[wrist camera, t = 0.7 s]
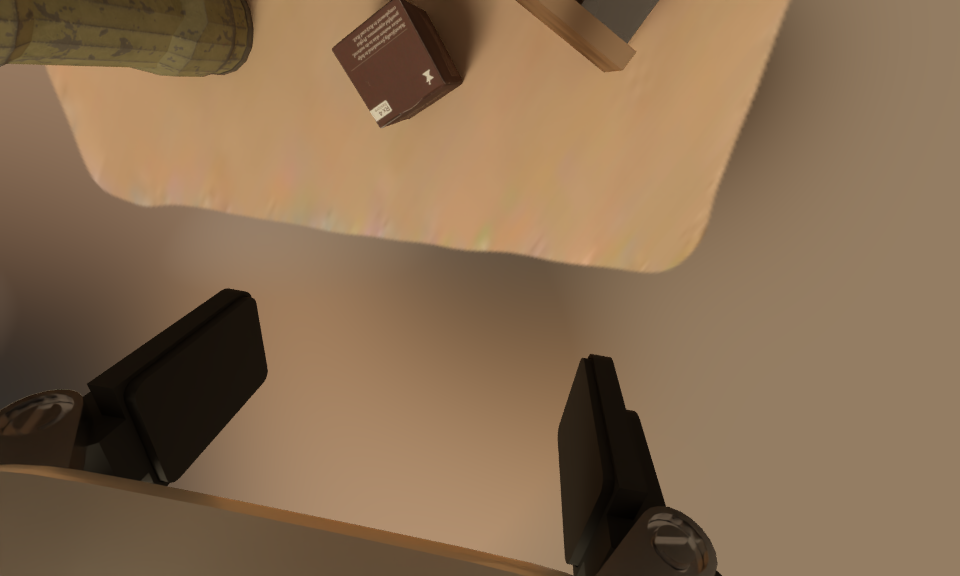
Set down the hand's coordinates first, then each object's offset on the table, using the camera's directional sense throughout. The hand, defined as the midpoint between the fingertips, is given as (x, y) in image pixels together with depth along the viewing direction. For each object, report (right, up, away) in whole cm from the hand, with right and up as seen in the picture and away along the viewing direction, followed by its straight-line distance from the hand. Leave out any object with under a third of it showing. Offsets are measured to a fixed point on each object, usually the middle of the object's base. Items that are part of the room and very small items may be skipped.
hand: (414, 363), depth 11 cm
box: (-4, +21, +23) cm, 31 cm away
